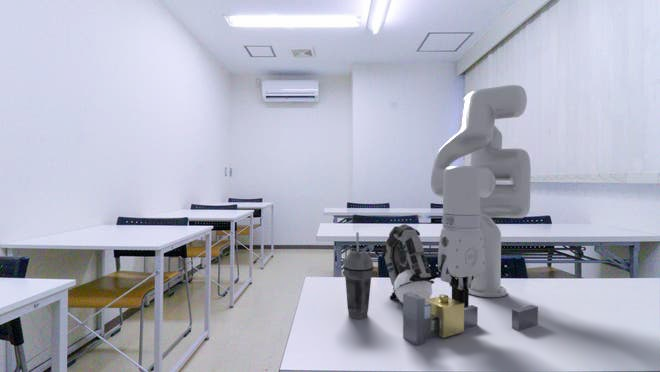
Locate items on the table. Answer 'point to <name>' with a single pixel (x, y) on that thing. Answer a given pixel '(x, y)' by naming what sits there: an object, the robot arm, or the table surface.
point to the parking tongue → (524, 317)
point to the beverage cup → (358, 281)
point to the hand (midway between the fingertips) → (460, 305)
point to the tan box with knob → (448, 314)
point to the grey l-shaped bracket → (427, 319)
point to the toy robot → (407, 263)
